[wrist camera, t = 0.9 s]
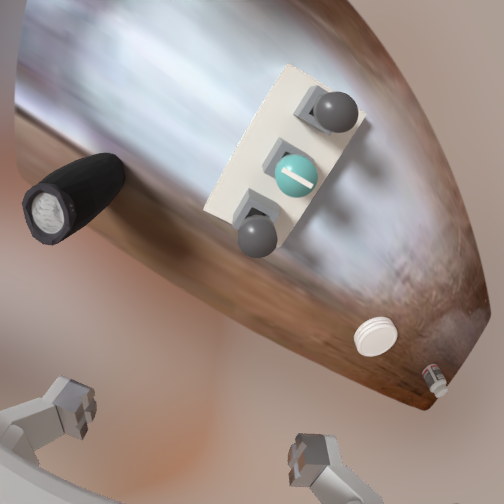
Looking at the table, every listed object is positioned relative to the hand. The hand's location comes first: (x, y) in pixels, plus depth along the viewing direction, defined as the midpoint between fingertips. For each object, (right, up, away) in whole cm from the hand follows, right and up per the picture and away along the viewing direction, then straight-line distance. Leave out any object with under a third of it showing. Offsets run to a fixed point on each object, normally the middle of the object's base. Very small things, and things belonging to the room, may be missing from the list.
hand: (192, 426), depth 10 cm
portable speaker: (-23, +20, +37) cm, 48 cm away
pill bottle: (+54, -28, +64) cm, 88 cm away
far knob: (+3, +11, +33) cm, 35 cm away
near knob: (+12, +25, +26) cm, 38 cm away
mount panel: (+7, +22, +37) cm, 43 cm away
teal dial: (+7, +18, +29) cm, 35 cm away
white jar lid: (+30, -12, +55) cm, 64 cm away
